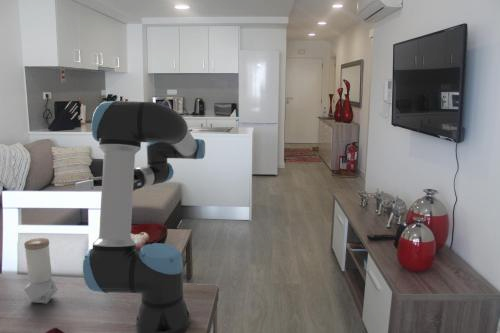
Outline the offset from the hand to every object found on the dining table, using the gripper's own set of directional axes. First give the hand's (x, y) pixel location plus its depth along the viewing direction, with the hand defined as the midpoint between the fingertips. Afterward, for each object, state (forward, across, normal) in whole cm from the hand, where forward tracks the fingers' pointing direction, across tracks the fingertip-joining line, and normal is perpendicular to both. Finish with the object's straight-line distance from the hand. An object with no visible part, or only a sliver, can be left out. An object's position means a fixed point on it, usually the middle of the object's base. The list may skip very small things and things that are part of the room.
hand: (89, 190), depth 137 cm
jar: (+16, +5, -26) cm, 31 cm away
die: (+16, +5, -34) cm, 38 cm away
